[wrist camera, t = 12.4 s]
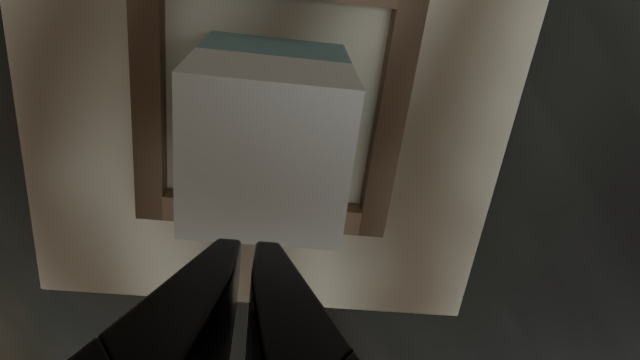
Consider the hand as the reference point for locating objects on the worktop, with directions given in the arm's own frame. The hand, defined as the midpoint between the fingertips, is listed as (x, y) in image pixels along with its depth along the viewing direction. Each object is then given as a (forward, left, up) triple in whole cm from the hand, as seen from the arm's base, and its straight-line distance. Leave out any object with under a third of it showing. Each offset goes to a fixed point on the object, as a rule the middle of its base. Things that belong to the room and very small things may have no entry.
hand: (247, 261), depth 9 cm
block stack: (0, 0, -10) cm, 10 cm away
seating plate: (0, 0, -11) cm, 11 cm away
